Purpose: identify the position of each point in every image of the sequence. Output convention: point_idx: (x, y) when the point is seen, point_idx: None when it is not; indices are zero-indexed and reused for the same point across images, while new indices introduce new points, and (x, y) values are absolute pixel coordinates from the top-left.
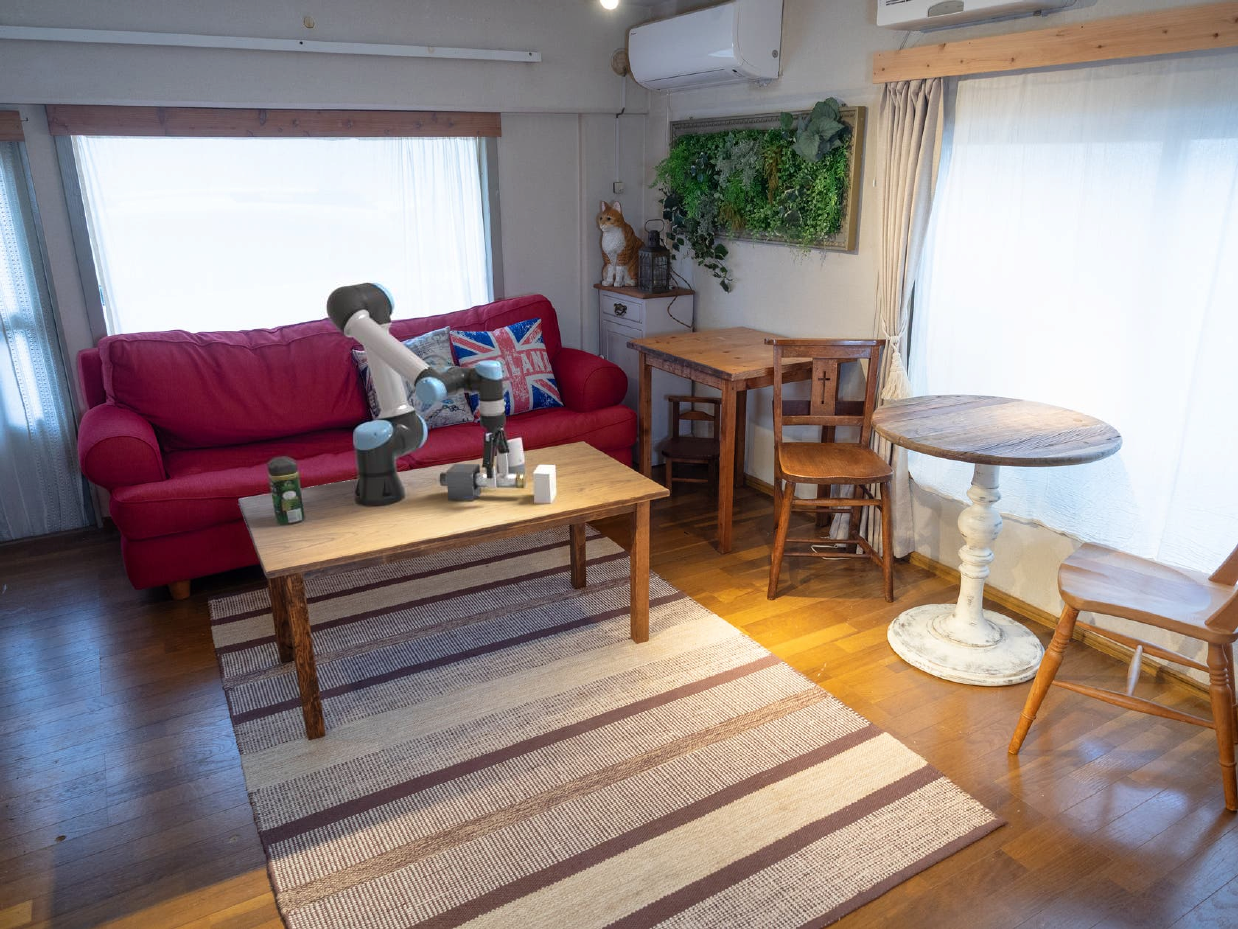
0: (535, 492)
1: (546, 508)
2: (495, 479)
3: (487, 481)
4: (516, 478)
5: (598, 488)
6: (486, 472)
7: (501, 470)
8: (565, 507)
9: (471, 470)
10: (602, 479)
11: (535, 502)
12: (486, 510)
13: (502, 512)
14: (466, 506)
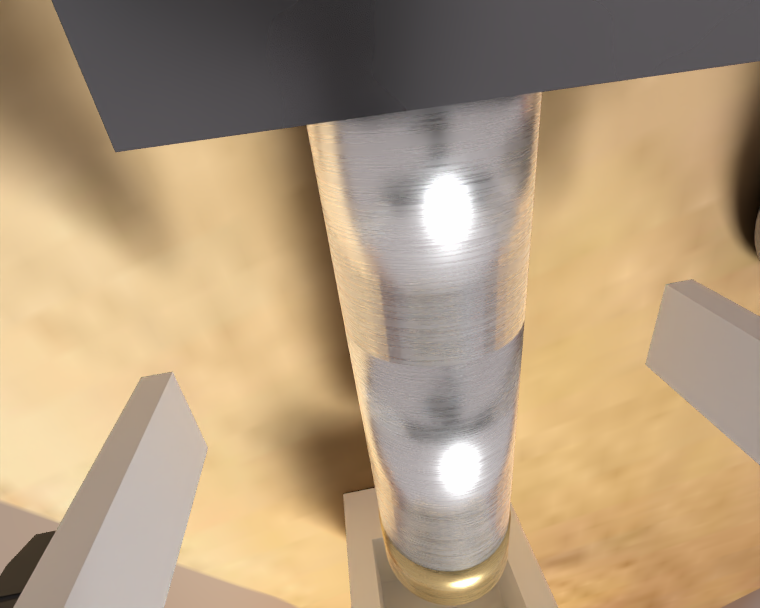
0: (350, 565)
1: (286, 556)
2: (170, 539)
3: (114, 452)
4: (400, 558)
5: (574, 593)
6: (29, 604)
7: (692, 331)
8: (325, 597)
9: (287, 60)
10: (684, 568)
11: (345, 500)
12: (87, 312)
13: (115, 420)
14: (71, 82)
